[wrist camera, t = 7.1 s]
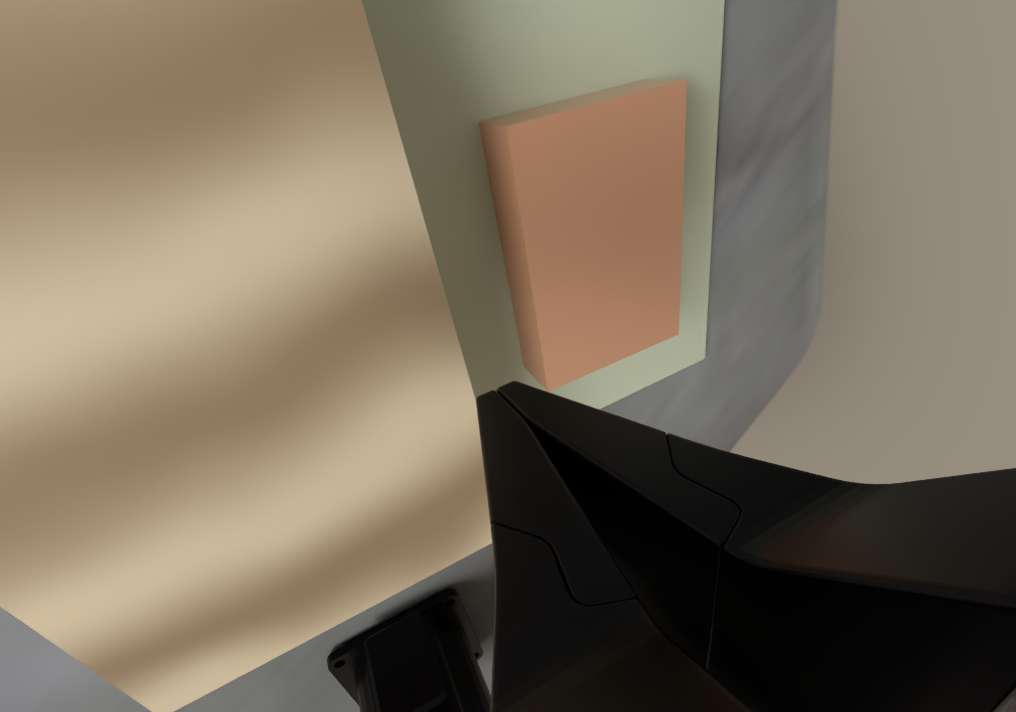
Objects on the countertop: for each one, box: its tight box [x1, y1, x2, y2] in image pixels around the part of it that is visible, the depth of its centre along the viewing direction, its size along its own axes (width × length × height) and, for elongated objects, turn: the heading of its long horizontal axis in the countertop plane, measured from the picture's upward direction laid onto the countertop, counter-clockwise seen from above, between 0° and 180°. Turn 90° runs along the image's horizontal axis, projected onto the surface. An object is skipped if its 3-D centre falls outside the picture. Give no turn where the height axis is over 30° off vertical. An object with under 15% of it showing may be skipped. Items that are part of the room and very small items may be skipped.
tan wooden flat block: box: [0, 0, 492, 712], centre depth 13 cm, size 18×12×4 cm, turn 11°
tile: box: [479, 79, 687, 392], centre depth 17 cm, size 9×6×2 cm, turn 11°
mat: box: [362, 0, 725, 409], centre depth 18 cm, size 18×12×1 cm, turn 11°
